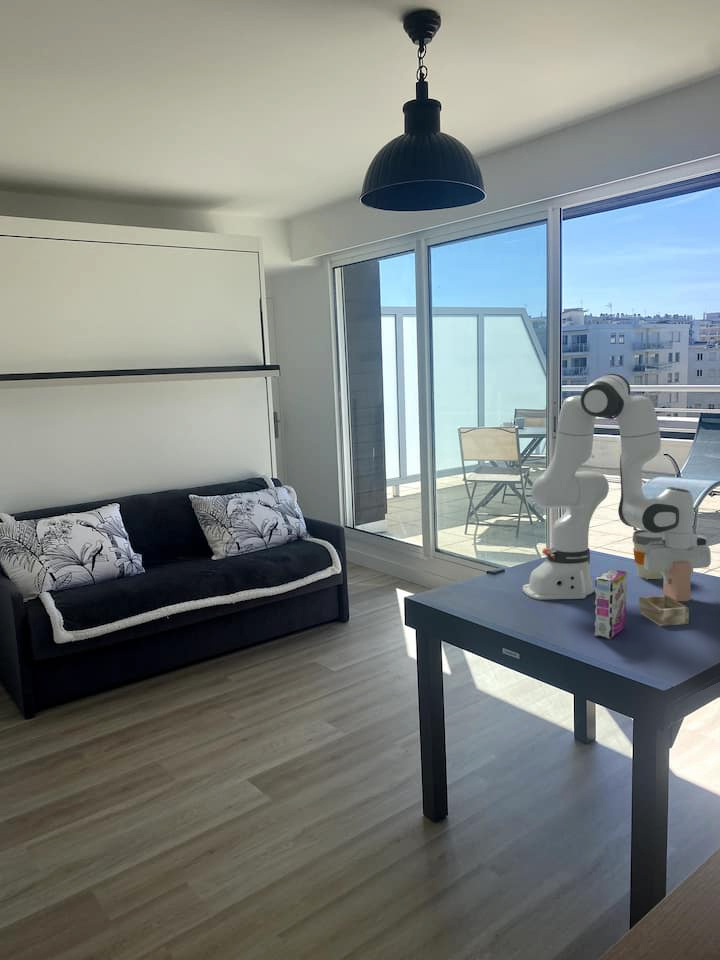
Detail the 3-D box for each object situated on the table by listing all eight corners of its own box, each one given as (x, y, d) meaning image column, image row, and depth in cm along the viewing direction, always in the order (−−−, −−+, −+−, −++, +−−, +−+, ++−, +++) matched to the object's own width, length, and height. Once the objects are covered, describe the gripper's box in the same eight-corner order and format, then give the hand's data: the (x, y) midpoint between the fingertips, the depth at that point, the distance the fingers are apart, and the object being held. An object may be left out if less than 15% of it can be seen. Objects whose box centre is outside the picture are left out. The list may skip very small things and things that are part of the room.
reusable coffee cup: (634, 581, 245) (634, 537, 243) (630, 570, 257) (630, 529, 255) (674, 581, 242) (675, 537, 240) (668, 571, 254) (668, 529, 252)
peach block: (676, 601, 223) (676, 563, 221) (663, 594, 231) (663, 557, 229) (690, 600, 223) (690, 562, 221) (676, 592, 231) (676, 556, 229)
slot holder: (659, 626, 204) (660, 610, 203) (639, 612, 215) (639, 597, 215) (688, 623, 204) (688, 607, 204) (666, 609, 216) (666, 594, 215)
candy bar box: (612, 640, 195) (612, 581, 193) (593, 636, 198) (593, 578, 196) (627, 627, 204) (627, 570, 201) (609, 624, 207) (609, 568, 204)
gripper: (650, 544, 220) (649, 588, 222) (714, 539, 222) (713, 583, 224) (640, 539, 226) (639, 582, 228) (702, 534, 228) (701, 577, 230)
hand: (676, 582), depth 226 cm, fingers closed on peach block, 4 cm apart
